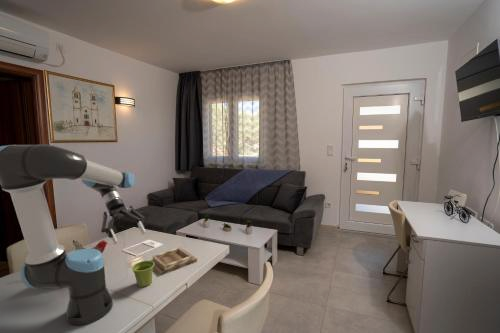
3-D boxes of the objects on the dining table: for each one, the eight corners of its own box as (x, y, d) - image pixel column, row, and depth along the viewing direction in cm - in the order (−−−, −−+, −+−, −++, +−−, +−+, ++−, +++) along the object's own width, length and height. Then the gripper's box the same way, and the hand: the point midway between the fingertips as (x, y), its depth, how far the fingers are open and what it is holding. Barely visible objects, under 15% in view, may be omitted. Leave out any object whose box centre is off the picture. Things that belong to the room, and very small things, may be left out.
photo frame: (163, 243, 158) (136, 255, 143) (163, 245, 158) (136, 257, 143) (149, 239, 166) (122, 249, 151) (149, 240, 166) (122, 251, 151)
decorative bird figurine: (109, 257, 143) (108, 240, 142) (71, 267, 132) (69, 249, 131) (108, 255, 145) (107, 238, 144) (71, 265, 134) (69, 247, 133)
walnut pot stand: (160, 275, 122) (159, 268, 122) (148, 263, 134) (147, 257, 134) (197, 261, 135) (196, 255, 135) (183, 251, 147) (183, 246, 147)
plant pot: (145, 291, 109) (144, 272, 108) (128, 287, 112) (126, 269, 111) (160, 279, 118) (158, 261, 117) (143, 276, 121) (142, 259, 120)
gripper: (135, 201, 140) (152, 233, 132) (84, 212, 120) (100, 251, 113) (139, 193, 136) (157, 225, 128) (87, 203, 116) (104, 242, 109)
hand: (130, 237), depth 120 cm, fingers open, 13 cm apart
